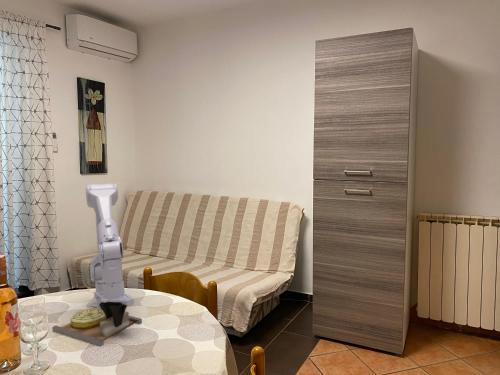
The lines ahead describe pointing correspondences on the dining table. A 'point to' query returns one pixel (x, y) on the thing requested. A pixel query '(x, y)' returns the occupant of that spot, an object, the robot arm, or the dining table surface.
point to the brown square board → (104, 328)
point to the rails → (86, 337)
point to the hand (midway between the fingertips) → (115, 324)
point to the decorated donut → (88, 318)
